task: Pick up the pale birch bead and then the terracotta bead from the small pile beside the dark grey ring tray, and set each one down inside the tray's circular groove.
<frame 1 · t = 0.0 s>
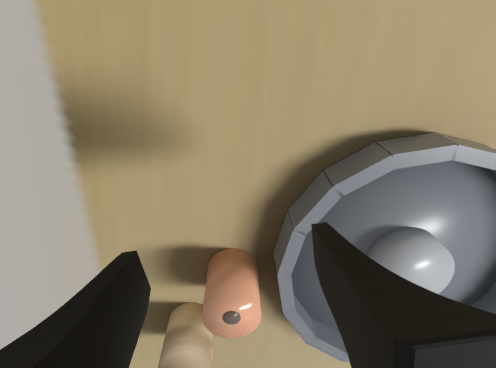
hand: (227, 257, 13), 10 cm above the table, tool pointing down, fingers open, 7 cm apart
terracotta bead: (232, 268, 26), on the table
groove tray: (397, 254, 26), on the table
birch bead: (192, 319, 28), on the table
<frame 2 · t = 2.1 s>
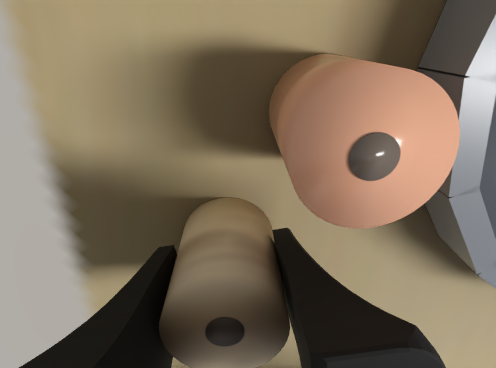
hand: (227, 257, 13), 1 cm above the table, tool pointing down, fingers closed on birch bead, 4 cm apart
terracotta bead: (321, 110, 12), on the table
birch bead: (228, 237, 14), on the table, touching gripper
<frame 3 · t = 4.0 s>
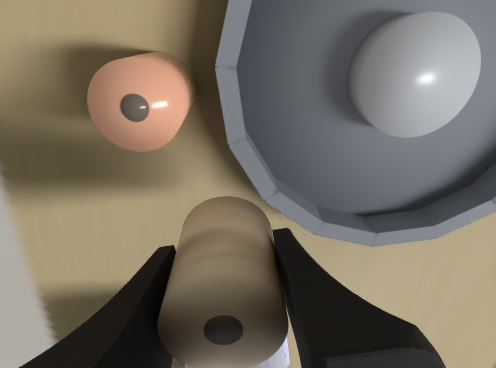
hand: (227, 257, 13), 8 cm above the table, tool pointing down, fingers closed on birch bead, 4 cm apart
terracotta bead: (160, 89, 18), on the table
groove tray: (395, 73, 18), on the table
birch bead: (227, 235, 14), point 7 cm above the table, touching gripper
when the fingers open (4 cm above the table, at t = 6.0 s): birch bead drops 1 cm, resting on groove tray.
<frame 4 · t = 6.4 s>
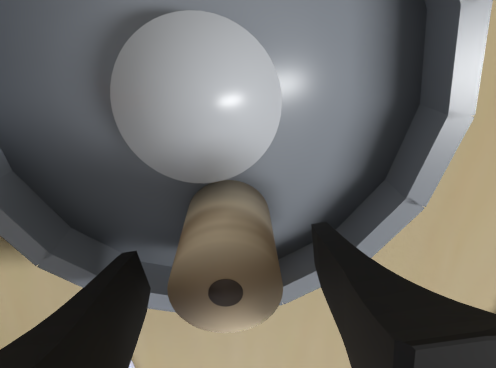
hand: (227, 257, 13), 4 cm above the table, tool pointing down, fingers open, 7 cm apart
groove tray: (203, 94, 14), on the table
birch bead: (228, 217, 16), point 1 cm above the table, touching groove tray
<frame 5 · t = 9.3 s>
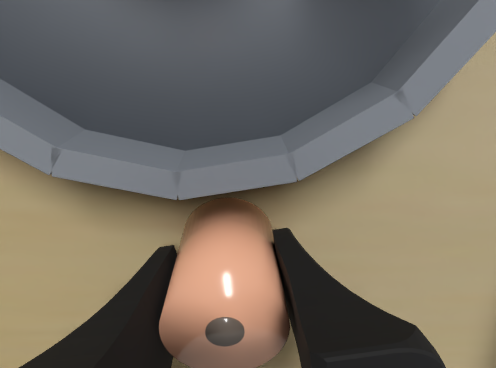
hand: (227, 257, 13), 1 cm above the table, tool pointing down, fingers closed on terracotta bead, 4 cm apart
terracotta bead: (228, 237, 14), on the table, touching gripper
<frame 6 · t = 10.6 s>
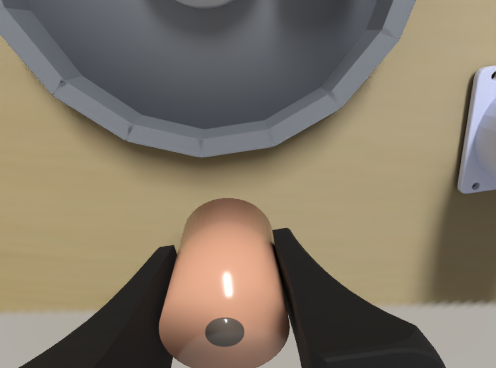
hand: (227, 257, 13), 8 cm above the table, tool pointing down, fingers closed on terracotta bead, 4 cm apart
terracotta bead: (228, 237, 14), point 7 cm above the table, touching gripper
when the fingers open (4 cm above the table, at t = 12.3 s): terracotta bead drops 1 cm, resting on groove tray.
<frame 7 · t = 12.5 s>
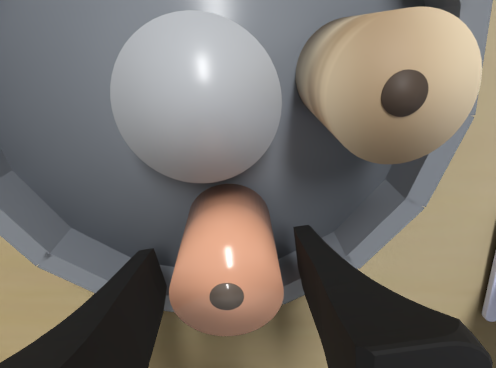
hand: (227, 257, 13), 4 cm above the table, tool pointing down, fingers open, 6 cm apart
terracotta bead: (229, 220, 16), point 1 cm above the table, touching groove tray
groove tray: (203, 94, 14), on the table
birch bead: (344, 72, 13), point 1 cm above the table, touching groove tray
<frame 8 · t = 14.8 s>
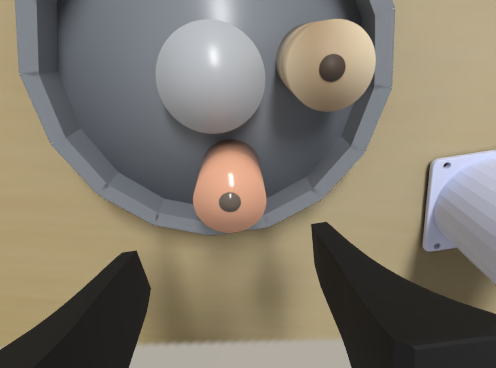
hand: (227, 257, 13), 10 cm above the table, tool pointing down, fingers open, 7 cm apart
terracotta bead: (231, 167, 22), point 1 cm above the table, touching groove tray
groove tray: (213, 75, 20), on the table
birch bead: (309, 59, 19), point 1 cm above the table, touching groove tray
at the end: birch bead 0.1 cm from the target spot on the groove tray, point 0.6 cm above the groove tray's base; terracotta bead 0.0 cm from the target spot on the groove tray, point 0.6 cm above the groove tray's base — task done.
